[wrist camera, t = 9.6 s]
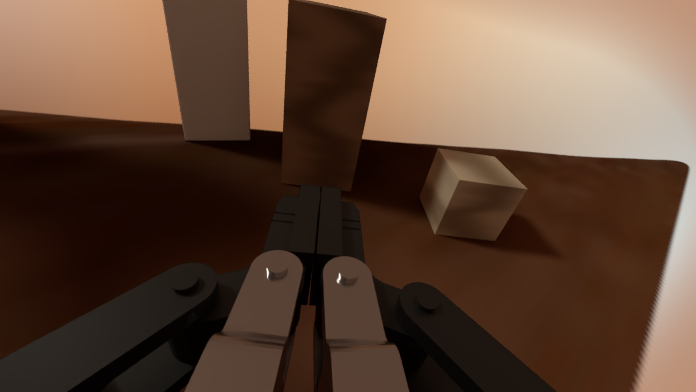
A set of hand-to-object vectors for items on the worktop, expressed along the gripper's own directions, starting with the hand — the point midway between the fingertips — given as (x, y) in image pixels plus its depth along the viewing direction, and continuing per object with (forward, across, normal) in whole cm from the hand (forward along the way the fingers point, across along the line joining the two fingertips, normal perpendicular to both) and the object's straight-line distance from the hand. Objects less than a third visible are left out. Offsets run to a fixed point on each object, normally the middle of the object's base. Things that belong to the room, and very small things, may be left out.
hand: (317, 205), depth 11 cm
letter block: (+10, -12, +7) cm, 17 cm away
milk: (+21, +11, +7) cm, 24 cm away
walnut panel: (+19, 0, +7) cm, 20 cm away
